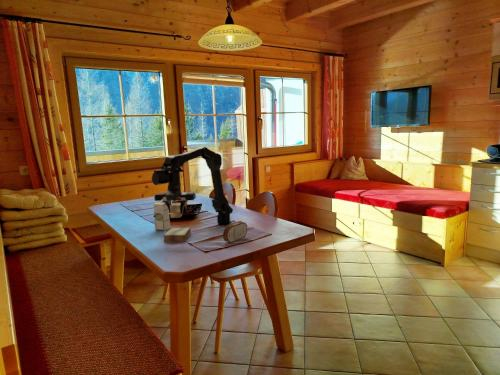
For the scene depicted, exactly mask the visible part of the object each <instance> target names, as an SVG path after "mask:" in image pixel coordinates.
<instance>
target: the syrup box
mask: <svg viewBox="0 0 500 375" xmlns="http://www.w3.org/2000/svg"><path fill="white" fill-rule="evenodd" d="M153 212H154V213H153V214H154V223H155V224H154V225H155V230H156V231H166V230H170V229H171V221H170V211H169V209H168V207H167V205H166V204H165V203H164V202H162V201H155V203H153Z"/></svg>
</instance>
